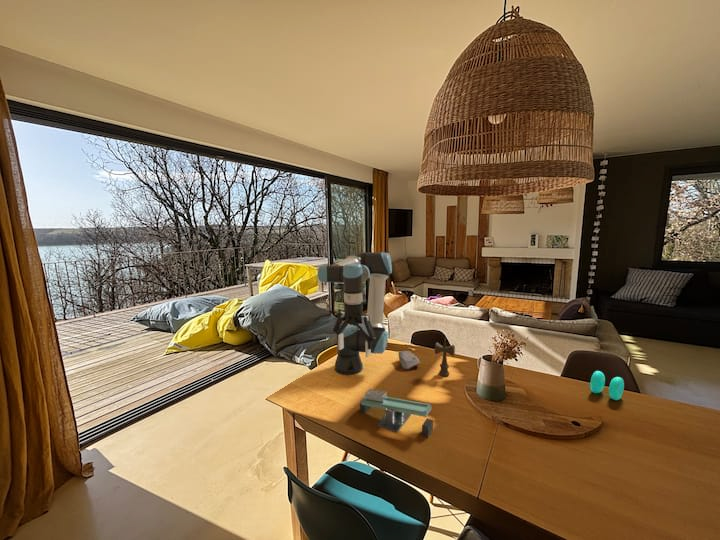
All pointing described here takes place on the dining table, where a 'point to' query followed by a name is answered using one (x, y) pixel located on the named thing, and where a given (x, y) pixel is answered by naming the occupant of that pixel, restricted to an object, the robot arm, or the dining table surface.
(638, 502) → the dining table surface
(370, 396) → the block
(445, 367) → the kendama
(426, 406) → the beam
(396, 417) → the stand
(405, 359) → the decorative stone
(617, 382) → the teal egg pair
